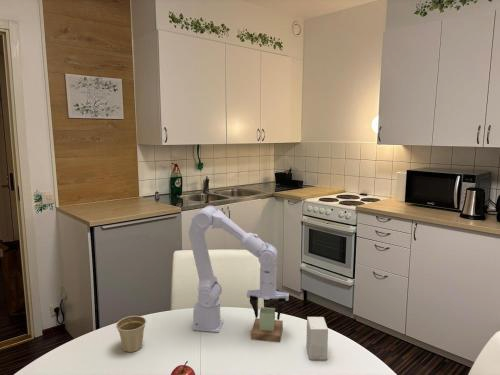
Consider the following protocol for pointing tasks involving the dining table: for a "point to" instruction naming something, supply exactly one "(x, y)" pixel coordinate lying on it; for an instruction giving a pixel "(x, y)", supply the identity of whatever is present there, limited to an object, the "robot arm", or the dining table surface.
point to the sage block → (267, 319)
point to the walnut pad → (267, 332)
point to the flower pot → (131, 332)
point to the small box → (317, 338)
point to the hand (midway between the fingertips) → (267, 317)
